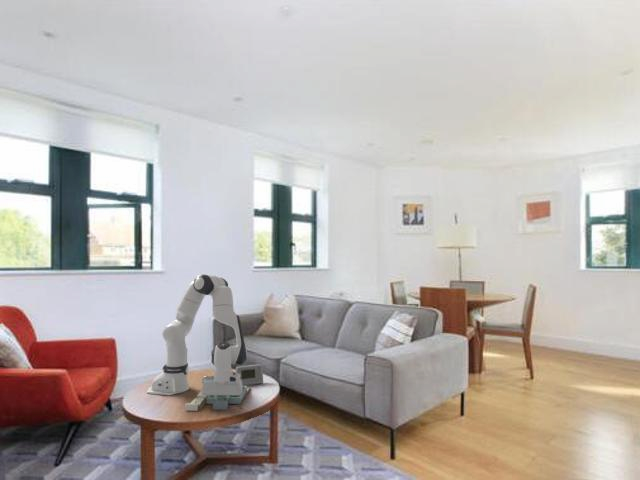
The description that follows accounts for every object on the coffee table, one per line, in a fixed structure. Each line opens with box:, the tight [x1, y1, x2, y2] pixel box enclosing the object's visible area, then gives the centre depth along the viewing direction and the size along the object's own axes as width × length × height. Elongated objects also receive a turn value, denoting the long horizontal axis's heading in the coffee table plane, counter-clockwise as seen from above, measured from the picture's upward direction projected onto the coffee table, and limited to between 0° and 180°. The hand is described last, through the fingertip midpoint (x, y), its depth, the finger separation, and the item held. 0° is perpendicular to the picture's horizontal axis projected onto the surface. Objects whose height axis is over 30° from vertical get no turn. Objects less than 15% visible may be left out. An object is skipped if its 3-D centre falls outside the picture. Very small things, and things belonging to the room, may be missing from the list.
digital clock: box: [235, 363, 264, 387], centre depth 224 cm, size 16×9×11 cm, turn 102°
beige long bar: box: [184, 389, 209, 412], centre depth 198 cm, size 6×26×3 cm, turn 0°
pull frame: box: [206, 386, 248, 411], centre depth 198 cm, size 18×25×4 cm
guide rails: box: [199, 387, 252, 410], centre depth 201 cm, size 20×28×1 cm
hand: (222, 403), depth 190 cm, fingers open, 2 cm apart
